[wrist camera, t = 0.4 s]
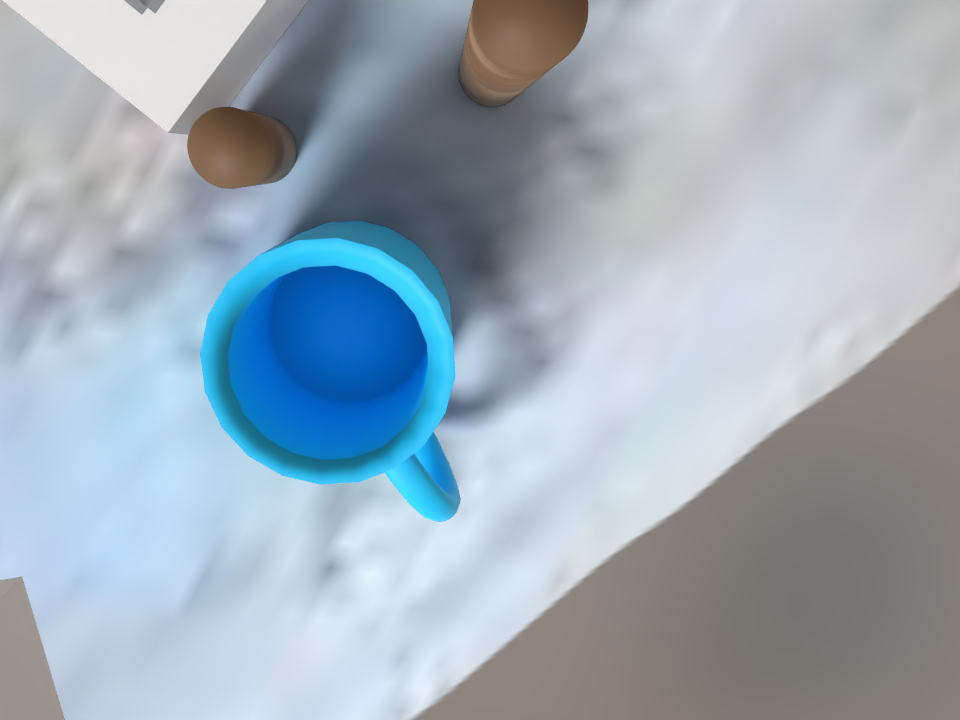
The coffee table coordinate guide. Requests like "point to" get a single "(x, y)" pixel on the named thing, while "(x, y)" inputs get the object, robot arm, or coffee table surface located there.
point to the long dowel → (516, 45)
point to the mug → (338, 362)
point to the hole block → (166, 47)
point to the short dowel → (240, 148)
